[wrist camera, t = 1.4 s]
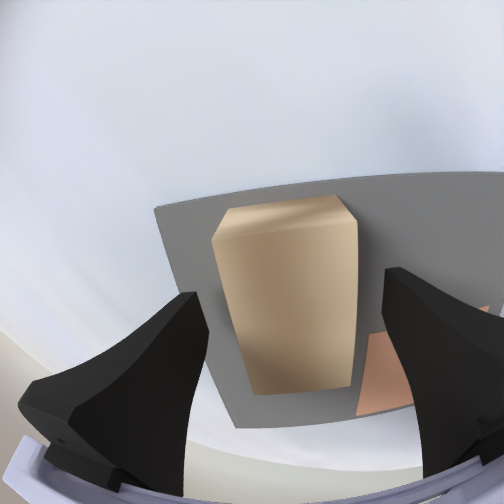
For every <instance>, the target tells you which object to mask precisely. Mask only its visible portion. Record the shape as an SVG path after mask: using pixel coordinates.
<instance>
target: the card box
mask: <svg viewBox="0 0 504 504" xmlns="http://www.w3.org/2000/svg"><path fill="white" fill-rule="evenodd" d="M211 242H212V246H213V250H214V254H215V258H216V262H217V266H218V270H219V274H220V277H221V281H222V285H223V289H224V293H225V296H226V300H227V304H228V308H229V311H230V315H231V319H232V322H233V326H234V329H235V333H236V337H237V340H238V344H239V347H240V351H241V354H242V358H243V361H244V364H245V368H246V371H247V375H248V378H249V381H250V385H251V388H252V391H253V394H254V396H255V395H275V394H289V393H300V392H310V391H319V390H327V389H334V388H341V387H347V386H350V384H351V376H352V367H353V357H354V346H355V333H356V318H357V295H358V227H357V221H356V219H355V218H354V217H353V216H352V214H351V213H350V212H349V211H348V209H347V208H346V207H345V206H344V204H343V203H342V202H341V201H340V199H339V198H338V197H337V196H336V195H328V196H319V197H311V198H302V199H294V200H287V201H279V202H272V203H264V204H257V205H250V206H244V207H237V208H230V209H228V210H227V212H226V214H225V216H224V217H223V219H222V221H221V223H220V225H219V227H218V228H217V230H216V232H215V234H214V236H213V238H212V239H211Z"/></svg>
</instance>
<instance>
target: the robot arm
mask: <svg viewBox="0 0 504 504" xmlns="http://www.w3.org/2000/svg"><path fill="white" fill-rule="evenodd" d="M381 313H382V317H383V320H384V324H385V327H386V330H387V333H388V336H389V338H390V340H391V342H392V345H393V347H394V349H395V351H396V354H397V356H398V358H399V360H400V363H401V365H402V367H403V370H404V372H405V375H406V377H407V380H408V383H409V386H410V389H411V393H412V397H413V401H414V405H415V409H416V414H417V420H418V425H419V431H420V439H421V447H422V460H423V479H422V480H419V481H416V482H413V483H410V484H406V485H403V486H400V487H396V488H393V489H389V490H385V491H381V492H377V493H372V494H368V495H363V496H358V497H353V498H347V499H340V500H334V501H326V502H317V503H307V504H418V503H421V502H424V501H427V500H430V499H432V498H435V497H437V496H440V495H441V496H440V497H439V498H436V499H434V500H432V501H430V502H427V503H425V504H504V318H502V317H499V316H496V315H493V314H490V313H488V312H485V311H482V310H480V309H478V308H475V307H473V306H471V305H468V304H466V303H464V302H462V301H460V300H458V299H456V298H454V297H452V296H451V295H449V294H447V293H445V292H443V291H441V290H440V289H438V288H436V287H435V286H433V285H431V284H429V283H428V282H426V281H424V280H423V279H421V278H419V277H418V276H416V275H414V274H413V273H411V272H409V271H407V270H405V269H403V268H401V267H393V268H387V269H385V274H384V288H383V299H382V309H381ZM209 332H210V331H209V328H208V325H207V322H206V319H205V317H204V314H203V310H202V307H201V304H200V301H199V298H198V295H197V292H196V291H193V292H182V293H181V294H179V295H178V296H176V297H175V298H174V299H173V300H171V301H170V302H169V303H168V304H167V305H165V306H164V307H163V308H162V309H161V310H160V311H158V312H157V313H156V314H155V315H154V316H153V317H151V318H150V319H149V320H148V321H147V322H145V323H144V324H143V325H142V326H140V327H139V328H138V329H136V330H135V331H134V332H133V333H131V334H130V335H129V336H127V337H126V338H125V339H123V340H122V341H120V342H119V343H117V344H116V345H114V346H113V347H111V348H110V349H108V350H106V351H105V352H103V353H101V354H99V355H97V356H96V357H94V358H92V359H90V360H88V361H86V362H84V363H82V364H80V365H78V366H76V367H73V368H71V369H69V370H66V371H64V372H61V373H58V374H55V375H52V376H49V377H46V378H42V379H39V380H35V381H33V382H32V383H31V384H30V386H29V387H28V388H27V390H26V391H25V393H24V394H23V396H22V397H21V399H20V401H19V402H18V408H19V410H20V412H21V413H22V414H23V416H24V417H25V418H26V419H27V420H28V421H29V422H30V423H31V424H32V425H33V426H34V427H35V428H36V429H37V430H38V431H39V432H40V433H41V434H42V435H43V436H44V437H45V438H47V439H48V440H49V441H50V442H51V444H50V446H49V448H47V447H46V446H45V445H43V444H42V443H40V442H38V441H36V440H34V439H33V438H31V437H29V436H27V435H24V436H23V438H22V440H21V442H20V444H19V446H18V448H17V449H16V451H15V453H14V455H13V457H12V459H11V461H10V463H9V465H8V467H7V469H6V471H5V474H4V476H3V478H2V479H3V481H4V482H6V483H7V484H8V485H9V486H10V487H11V488H12V489H14V490H15V491H16V492H17V493H18V494H19V495H21V496H22V497H23V498H24V499H25V500H27V501H28V502H29V503H30V504H229V503H218V502H210V501H202V500H195V499H188V498H183V480H184V478H183V476H184V458H185V445H186V437H187V429H188V422H189V416H190V410H191V405H192V401H193V397H194V394H195V390H196V387H197V384H198V380H199V377H200V374H201V370H202V367H203V364H204V360H205V357H206V353H207V347H208V340H209Z"/></svg>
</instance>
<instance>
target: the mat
mask: <svg viewBox="0 0 504 504" xmlns="http://www.w3.org/2000/svg"><path fill="white" fill-rule="evenodd" d="M328 195H336V196H337V197H338V198H339V199H340V201H341V202H342V203H343V204H344V206H345V207H346V208H347V209H348V211H349V212H350V213H351V214H352V216H353V217H354V218H355V219H356V221H357V227H358V295H357V318H356V333H355V346H354V357H353V367H352V376H351V384H350V386H347V387H341V388H334V389H327V390H319V391H310V392H300V393H289V394H275V395H255V396H254V394H253V391H252V388H251V385H250V381H249V378H248V375H247V371H246V368H245V364H244V361H243V358H242V354H241V351H240V347H239V344H238V340H237V337H236V333H235V329H234V326H233V322H232V319H231V315H230V311H229V308H228V304H227V300H226V296H225V293H224V289H223V285H222V281H221V277H220V274H219V270H218V266H217V262H216V258H215V254H214V250H213V246H212V242H211V239H212V238H213V236H214V234H215V232H216V230H217V228H218V227H219V225H220V223H221V221H222V219H223V217H224V216H225V214H226V212H227V210H228V209H230V208H237V207H244V206H250V205H257V204H264V203H272V202H279V201H287V200H294V199H302V198H311V197H319V196H328ZM154 213H155V217H156V220H157V224H158V227H159V231H160V234H161V237H162V241H163V244H164V247H165V250H166V254H167V257H168V260H169V263H170V266H171V269H172V272H173V275H174V278H175V281H176V284H177V287H178V290H179V293H180V294H181V293H182V292H193V291H196V292H197V295H198V298H199V301H200V304H201V307H202V310H203V314H204V317H205V319H206V322H207V325H208V328H209V331H210V332H209V340H208V347H207V353H206V357H205V361H206V364H207V366H208V368H209V371H210V373H211V376H212V378H213V380H214V383H215V385H216V387H217V389H218V392H219V394H220V396H221V398H222V400H223V403H224V405H225V407H226V409H227V411H228V413H229V416H230V418H231V420H232V422H233V424H234V426H235V428H278V427H294V426H306V425H315V424H324V423H332V422H339V421H345V420H351V419H357V418H362V417H368V416H373V415H377V414H382V413H386V412H391V411H395V410H399V409H403V408H406V407H410V406H414V401H413V397H412V393H411V389H410V386H409V383H408V380H407V377H406V375H405V372H404V370H403V367H402V365H401V363H400V360H399V358H398V356H397V354H396V351H395V349H394V347H393V345H392V342H391V340H390V338H389V336H388V333H387V330H386V327H385V324H384V320H383V317H382V313H381V309H382V299H383V288H384V274H385V269H387V268H393V267H401V268H403V269H405V270H407V271H409V272H411V273H413V274H414V275H416V276H418V277H419V278H421V279H423V280H424V281H426V282H428V283H429V284H431V285H433V286H435V287H436V288H438V289H440V290H441V291H443V292H445V293H447V294H449V295H451V296H452V297H454V298H456V299H458V300H460V301H462V302H464V303H466V304H468V305H471V306H473V307H475V308H478V309H480V310H482V311H485V312H488V313H490V314H493V315H496V316H499V315H500V312H501V309H502V306H503V303H504V172H430V173H408V174H391V175H376V176H364V177H352V178H341V179H331V180H322V181H313V182H305V183H296V184H289V185H281V186H274V187H266V188H260V189H253V190H246V191H240V192H234V193H228V194H222V195H216V196H210V197H204V198H199V199H193V200H188V201H183V202H178V203H173V204H168V205H163V206H158V207H156V208H155V209H154Z"/></svg>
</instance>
